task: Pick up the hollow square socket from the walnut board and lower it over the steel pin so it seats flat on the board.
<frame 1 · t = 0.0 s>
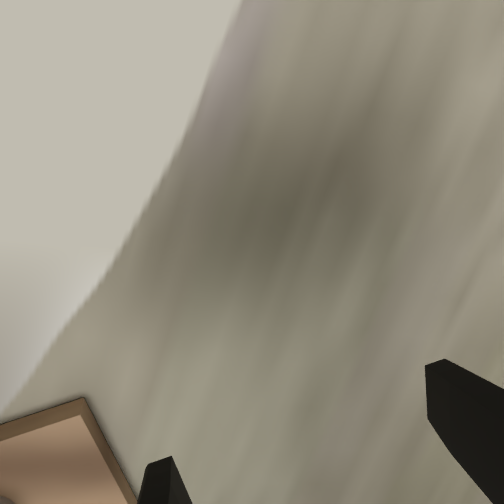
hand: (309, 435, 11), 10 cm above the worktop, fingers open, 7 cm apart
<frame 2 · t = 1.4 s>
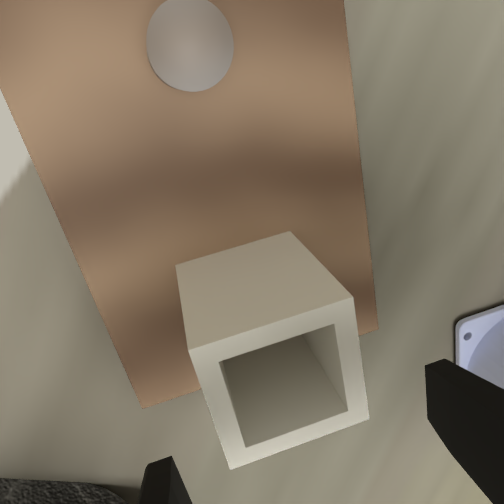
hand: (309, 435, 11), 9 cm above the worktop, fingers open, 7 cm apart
hollow square socket: (246, 297, 18), point 1 cm above the worktop, touching pin board
pin board: (214, 184, 17), on the worktop
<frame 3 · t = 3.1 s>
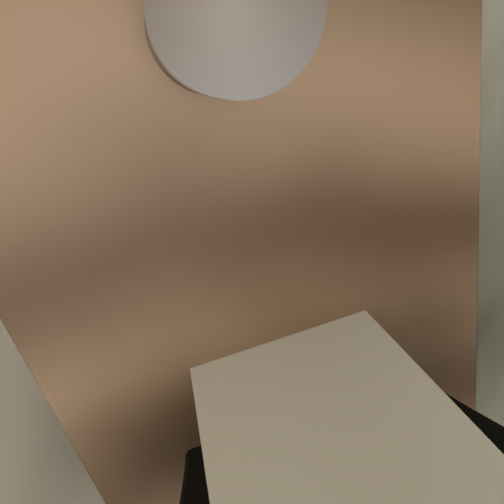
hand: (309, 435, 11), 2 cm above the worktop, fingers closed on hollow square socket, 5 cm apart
hollow square socket: (295, 406, 12), point 1 cm above the worktop, touching gripper, pin board
pin board: (250, 239, 11), on the worktop
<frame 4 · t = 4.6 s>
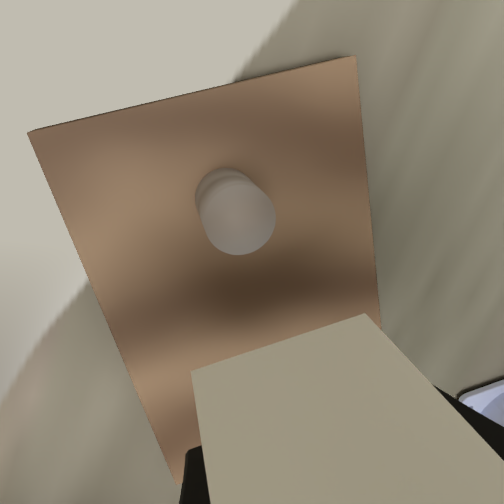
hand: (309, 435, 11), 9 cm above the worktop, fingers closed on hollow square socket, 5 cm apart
hollow square socket: (295, 408, 12), point 8 cm above the worktop, touching gripper
pin board: (245, 292, 19), on the worktop
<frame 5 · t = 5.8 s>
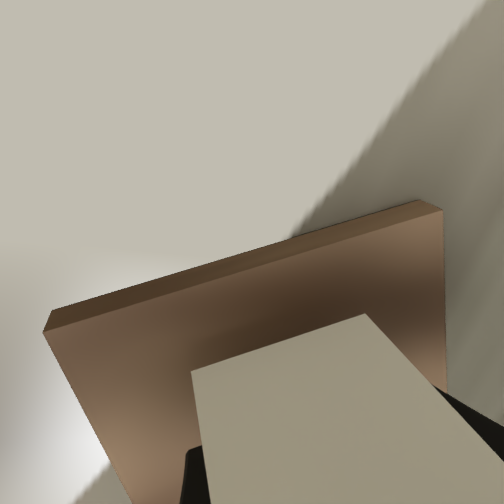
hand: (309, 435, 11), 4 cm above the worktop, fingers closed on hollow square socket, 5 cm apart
hollow square socket: (295, 408, 12), point 3 cm above the worktop, touching gripper
pin board: (295, 449, 17), on the worktop
when the fingers open (4 cm above the worktop, at t = 6.5 s): hollow square socket drops 1 cm, resting on pin board.
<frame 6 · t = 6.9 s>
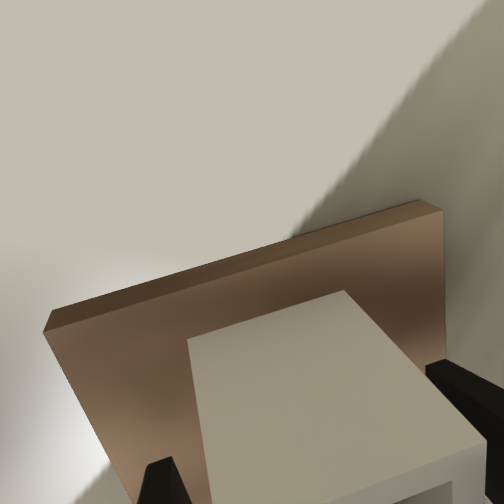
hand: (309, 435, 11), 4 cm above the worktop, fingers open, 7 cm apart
hollow square socket: (281, 376, 14), point 1 cm above the worktop, touching pin board
pin board: (295, 449, 17), on the worktop
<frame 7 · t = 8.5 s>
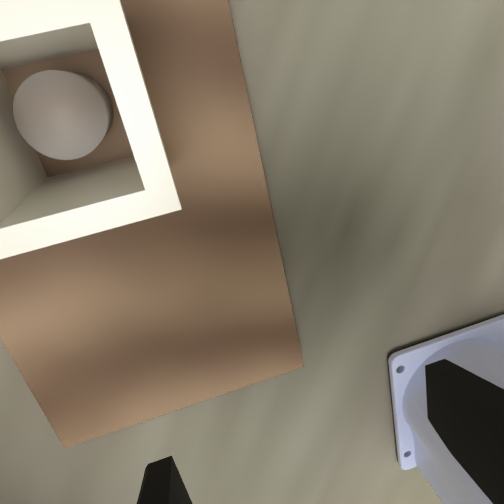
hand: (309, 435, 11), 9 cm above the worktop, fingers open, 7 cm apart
hollow square socket: (78, 113, 14), point 1 cm above the worktop, touching pin board
pin board: (127, 230, 17), on the worktop
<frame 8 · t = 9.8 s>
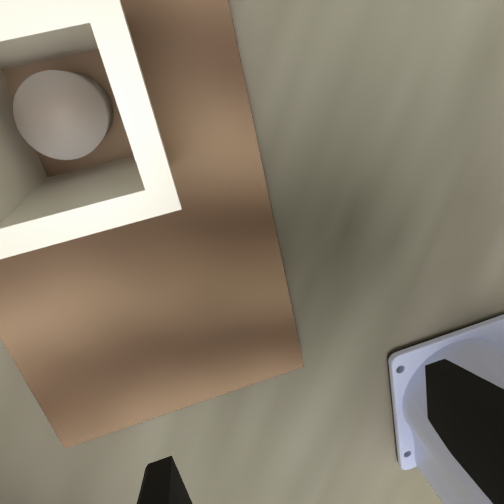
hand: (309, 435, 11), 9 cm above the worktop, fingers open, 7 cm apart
hollow square socket: (78, 113, 14), point 1 cm above the worktop, touching pin board
pin board: (127, 230, 17), on the worktop
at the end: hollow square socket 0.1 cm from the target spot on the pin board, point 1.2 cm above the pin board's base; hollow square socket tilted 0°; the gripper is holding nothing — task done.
